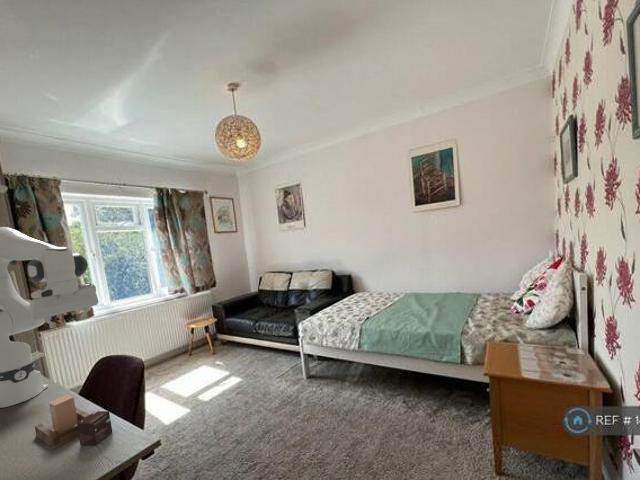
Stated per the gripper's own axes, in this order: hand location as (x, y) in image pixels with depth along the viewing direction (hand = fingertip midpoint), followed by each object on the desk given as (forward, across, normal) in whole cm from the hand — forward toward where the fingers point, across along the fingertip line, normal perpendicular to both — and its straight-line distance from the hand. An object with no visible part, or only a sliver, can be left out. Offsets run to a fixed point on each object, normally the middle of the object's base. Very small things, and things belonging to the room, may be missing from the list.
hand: (69, 323), depth 113 cm
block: (+32, +9, +14) cm, 36 cm away
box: (+33, +7, +30) cm, 45 cm away
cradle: (+33, +10, +14) cm, 37 cm away
